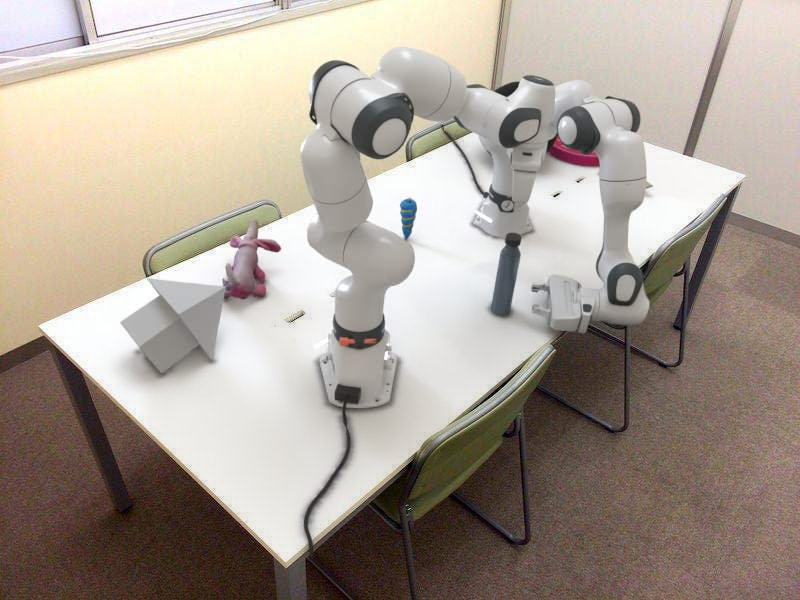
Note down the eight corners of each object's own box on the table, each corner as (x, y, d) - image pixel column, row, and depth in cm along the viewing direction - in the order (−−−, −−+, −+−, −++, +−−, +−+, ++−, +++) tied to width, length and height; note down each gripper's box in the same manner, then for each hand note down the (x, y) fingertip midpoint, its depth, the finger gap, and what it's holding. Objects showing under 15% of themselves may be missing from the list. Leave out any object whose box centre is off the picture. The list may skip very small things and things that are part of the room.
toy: (299, 270, 187) (288, 223, 179) (243, 315, 171) (228, 266, 163) (250, 258, 196) (238, 213, 188) (193, 300, 180) (176, 253, 172)
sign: (588, 172, 247) (635, 153, 263) (590, 164, 245) (637, 145, 261) (529, 144, 265) (575, 128, 281) (530, 136, 263) (577, 120, 278)
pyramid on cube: (256, 326, 161) (227, 278, 148) (174, 389, 154) (136, 344, 140) (223, 293, 171) (193, 245, 157) (145, 351, 164) (106, 305, 150)
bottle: (487, 307, 179) (498, 235, 165) (501, 301, 181) (514, 230, 167) (498, 317, 176) (512, 245, 162) (513, 312, 178) (528, 240, 164)
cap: (501, 241, 166) (502, 234, 165) (513, 237, 168) (514, 230, 166) (511, 249, 163) (512, 242, 162) (523, 245, 165) (524, 238, 164)
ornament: (395, 240, 203) (397, 197, 194) (403, 233, 207) (405, 190, 198) (410, 245, 201) (413, 202, 192) (417, 237, 205) (420, 195, 196)
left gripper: (514, 128, 158) (506, 179, 167) (511, 165, 142) (502, 220, 151) (540, 130, 157) (531, 182, 166) (540, 168, 141) (530, 223, 150)
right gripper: (583, 272, 180) (533, 266, 181) (590, 318, 164) (534, 312, 165) (578, 290, 184) (529, 284, 185) (584, 337, 168) (530, 331, 169)
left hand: (517, 200), depth 158 cm, fingers open, 8 cm apart
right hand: (531, 297), depth 175 cm, fingers open, 8 cm apart
